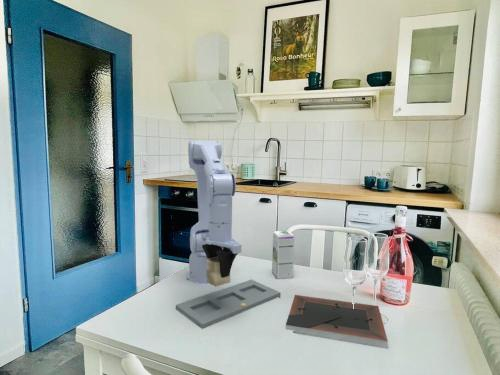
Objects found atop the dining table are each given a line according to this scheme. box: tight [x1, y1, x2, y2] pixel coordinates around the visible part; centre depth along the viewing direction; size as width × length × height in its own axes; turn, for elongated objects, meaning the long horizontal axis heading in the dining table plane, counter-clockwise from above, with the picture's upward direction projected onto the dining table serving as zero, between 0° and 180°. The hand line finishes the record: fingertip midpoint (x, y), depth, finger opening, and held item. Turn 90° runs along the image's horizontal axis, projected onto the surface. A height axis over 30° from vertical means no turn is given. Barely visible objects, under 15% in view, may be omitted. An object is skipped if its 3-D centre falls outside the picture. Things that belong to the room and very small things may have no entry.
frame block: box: [207, 256, 231, 288], centre depth 82 cm, size 4×4×6 cm
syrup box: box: [271, 230, 295, 280], centre depth 106 cm, size 6×6×14 cm
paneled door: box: [175, 279, 282, 330], centre depth 86 cm, size 12×26×2 cm, turn 132°
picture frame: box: [285, 294, 389, 349], centre depth 79 cm, size 16×2×22 cm
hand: (219, 273), depth 83 cm, fingers closed on frame block, 4 cm apart
